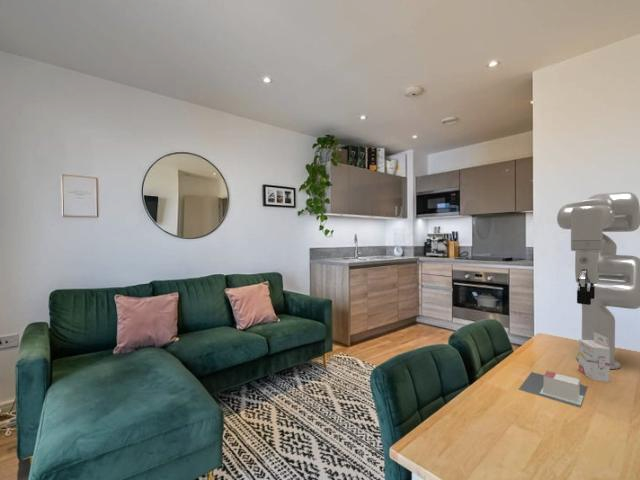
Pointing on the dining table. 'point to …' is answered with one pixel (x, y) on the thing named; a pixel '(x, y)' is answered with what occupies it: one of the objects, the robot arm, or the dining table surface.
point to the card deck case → (561, 386)
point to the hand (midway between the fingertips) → (585, 301)
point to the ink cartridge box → (595, 358)
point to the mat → (535, 386)
